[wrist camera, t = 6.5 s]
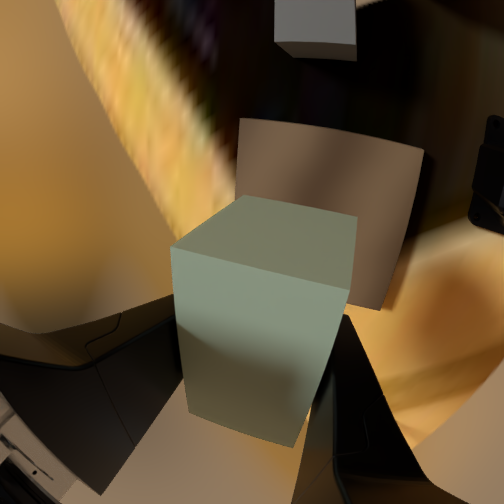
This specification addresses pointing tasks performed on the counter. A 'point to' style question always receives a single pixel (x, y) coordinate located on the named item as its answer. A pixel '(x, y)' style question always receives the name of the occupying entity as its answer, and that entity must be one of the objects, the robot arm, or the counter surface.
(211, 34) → the counter surface
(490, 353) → the counter surface
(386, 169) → the walnut board
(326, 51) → the charcoal brick
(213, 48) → the counter surface
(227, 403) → the sage brick
